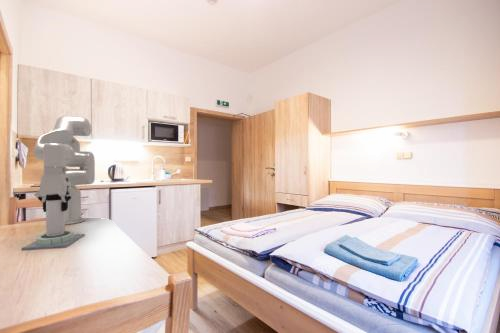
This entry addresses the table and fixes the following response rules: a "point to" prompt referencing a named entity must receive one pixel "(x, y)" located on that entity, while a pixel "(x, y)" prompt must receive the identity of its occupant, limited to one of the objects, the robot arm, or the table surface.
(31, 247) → the cup dock
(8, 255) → the table surface
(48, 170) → the robot arm
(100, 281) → the table surface
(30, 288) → the table surface
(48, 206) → the travel mug
